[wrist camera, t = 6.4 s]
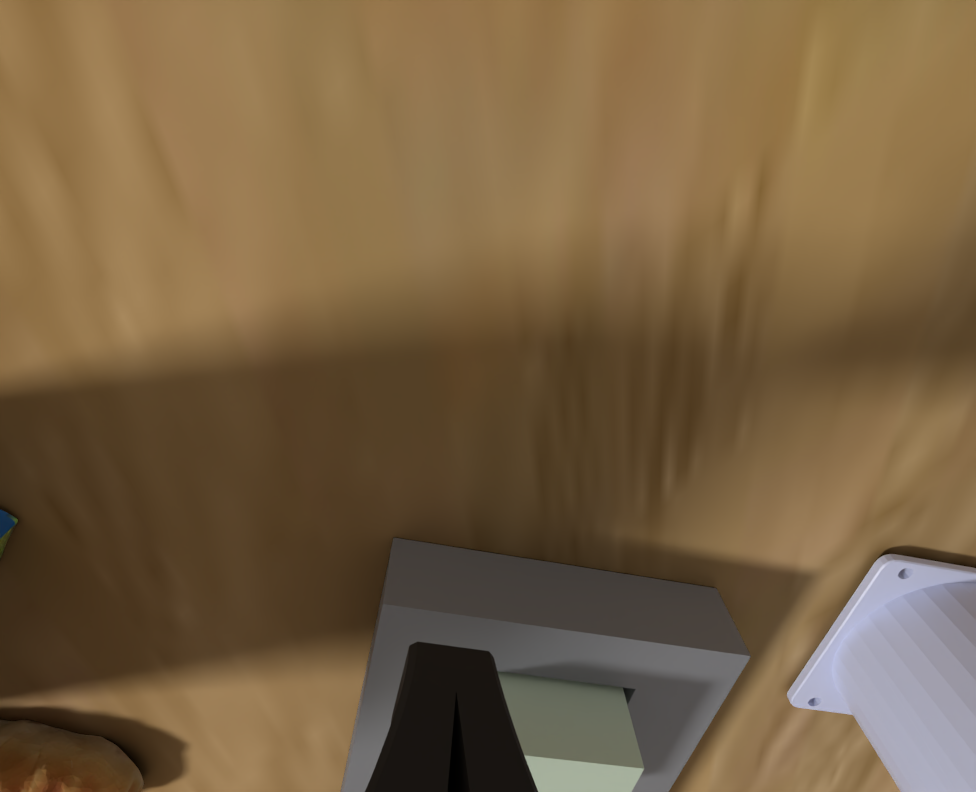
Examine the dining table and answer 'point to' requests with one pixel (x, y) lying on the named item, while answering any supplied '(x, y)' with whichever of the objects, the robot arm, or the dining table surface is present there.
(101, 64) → the dining table surface
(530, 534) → the dining table surface
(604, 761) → the sage key
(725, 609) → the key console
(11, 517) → the blue food package
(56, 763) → the pastry
